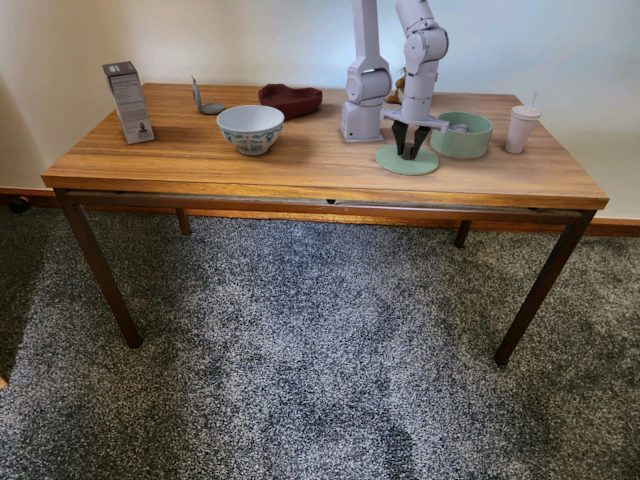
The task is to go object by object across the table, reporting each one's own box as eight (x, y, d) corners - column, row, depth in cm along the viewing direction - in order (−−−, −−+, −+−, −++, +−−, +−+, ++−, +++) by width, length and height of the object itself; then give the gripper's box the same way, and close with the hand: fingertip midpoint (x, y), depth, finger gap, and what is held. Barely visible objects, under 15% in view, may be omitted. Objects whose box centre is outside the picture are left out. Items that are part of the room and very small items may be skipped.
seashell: (449, 140, 102) (458, 159, 94) (440, 124, 99) (448, 142, 91) (469, 128, 99) (479, 147, 92) (460, 111, 97) (470, 130, 89)
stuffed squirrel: (383, 102, 119) (388, 55, 111) (411, 92, 127) (419, 47, 118) (410, 112, 114) (418, 63, 105) (438, 100, 121) (447, 54, 113)
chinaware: (268, 169, 87) (266, 135, 82) (208, 156, 90) (203, 124, 85) (295, 141, 98) (294, 110, 93) (241, 131, 101) (237, 101, 96)
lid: (384, 179, 84) (387, 161, 81) (368, 149, 94) (370, 132, 92) (447, 175, 86) (452, 157, 83) (424, 146, 96) (427, 129, 94)
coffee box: (121, 130, 100) (100, 63, 90) (147, 126, 103) (130, 60, 93) (128, 145, 94) (106, 75, 84) (156, 139, 97) (138, 70, 87)
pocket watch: (229, 109, 113) (224, 73, 106) (207, 119, 107) (201, 81, 101) (208, 103, 116) (202, 67, 110) (186, 112, 110) (178, 75, 104)
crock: (442, 161, 91) (448, 135, 87) (421, 136, 101) (426, 112, 97) (495, 158, 92) (504, 132, 88) (470, 134, 103) (476, 110, 99)
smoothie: (514, 158, 93) (535, 98, 84) (493, 147, 97) (511, 88, 88) (532, 152, 95) (555, 93, 86) (511, 142, 99) (531, 84, 91)
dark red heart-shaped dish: (245, 118, 108) (243, 99, 105) (269, 98, 120) (268, 81, 117) (307, 127, 104) (306, 108, 101) (325, 106, 116) (326, 88, 113)
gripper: (458, 95, 80) (444, 156, 89) (391, 83, 86) (383, 141, 94) (449, 106, 76) (434, 169, 84) (378, 92, 81) (372, 153, 90)
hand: (407, 155), depth 89 cm, fingers closed on lid, 2 cm apart
